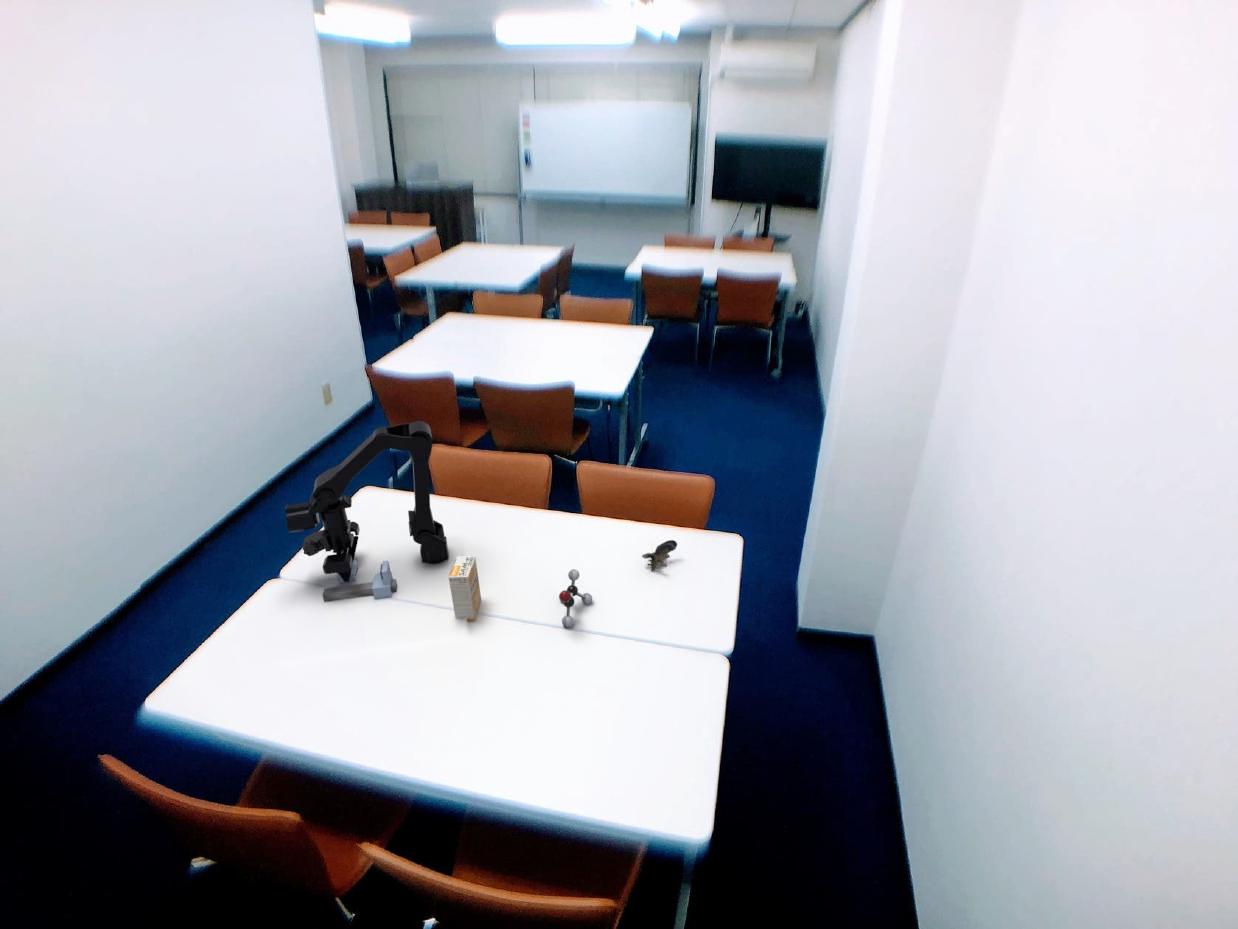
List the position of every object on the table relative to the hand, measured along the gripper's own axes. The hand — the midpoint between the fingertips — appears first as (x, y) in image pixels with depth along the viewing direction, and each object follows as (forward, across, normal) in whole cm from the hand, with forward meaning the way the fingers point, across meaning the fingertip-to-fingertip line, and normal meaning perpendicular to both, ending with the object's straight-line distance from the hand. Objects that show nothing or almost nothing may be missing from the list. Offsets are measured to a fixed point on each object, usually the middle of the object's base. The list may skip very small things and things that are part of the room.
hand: (348, 573), depth 177 cm
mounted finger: (0, +8, +10) cm, 13 cm away
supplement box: (+2, +20, +30) cm, 36 cm away
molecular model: (+2, +26, +54) cm, 60 cm away
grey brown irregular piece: (+2, +12, +80) cm, 80 cm away
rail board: (+1, +8, +4) cm, 9 cm away
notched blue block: (+1, 0, 0) cm, 1 cm away
